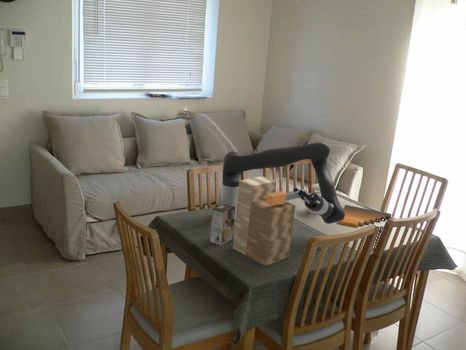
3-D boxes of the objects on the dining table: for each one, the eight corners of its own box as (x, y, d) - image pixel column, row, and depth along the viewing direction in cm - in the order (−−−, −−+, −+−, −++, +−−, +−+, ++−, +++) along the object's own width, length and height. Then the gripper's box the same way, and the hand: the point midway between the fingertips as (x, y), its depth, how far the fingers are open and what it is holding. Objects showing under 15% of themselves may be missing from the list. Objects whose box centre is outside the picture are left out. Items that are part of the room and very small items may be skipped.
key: (300, 193, 223) (301, 185, 222) (307, 196, 220) (308, 188, 219) (265, 202, 208) (266, 194, 207) (272, 205, 206) (273, 196, 205)
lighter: (370, 249, 237) (374, 229, 234) (365, 246, 240) (369, 226, 237) (383, 247, 240) (387, 227, 238) (378, 244, 243) (382, 224, 240)
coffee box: (220, 235, 236) (223, 202, 231) (232, 239, 233) (235, 206, 228) (209, 241, 229) (212, 208, 224) (221, 246, 225) (224, 211, 221)
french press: (327, 211, 280) (334, 167, 273) (319, 216, 271) (325, 171, 264) (311, 206, 285) (317, 163, 278) (302, 211, 276) (308, 167, 269)
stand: (255, 241, 234) (262, 176, 225) (288, 258, 220) (297, 189, 211) (232, 248, 224) (239, 180, 215) (265, 266, 210) (274, 195, 201)
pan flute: (390, 218, 280) (344, 209, 287) (391, 212, 279) (345, 203, 286) (387, 234, 257) (337, 224, 265) (388, 228, 256) (338, 218, 264)
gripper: (308, 191, 235) (288, 178, 223) (332, 201, 226) (313, 187, 213) (301, 206, 235) (281, 193, 222) (325, 216, 225) (306, 203, 212)
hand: (297, 190), depth 218 cm, fingers closed on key, 2 cm apart
